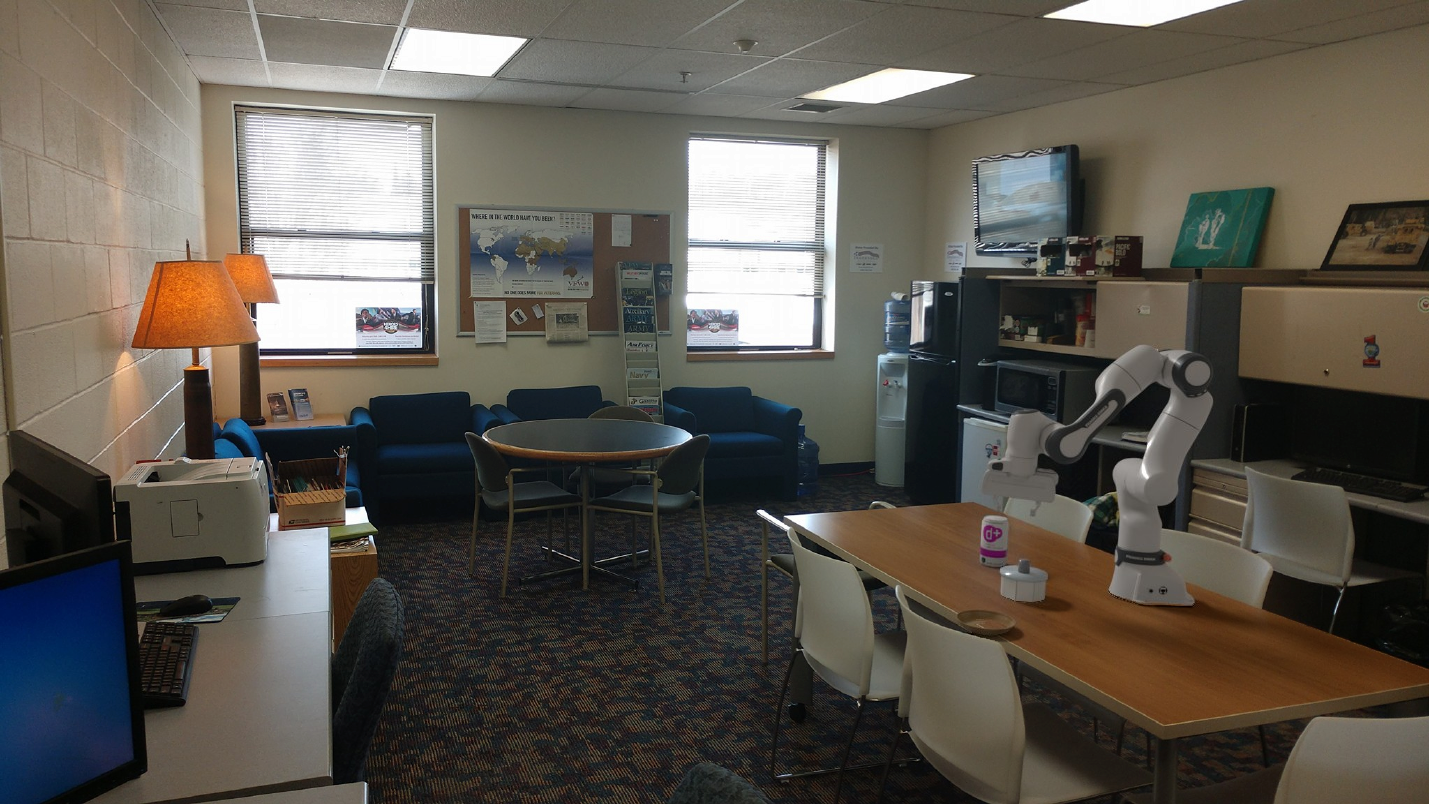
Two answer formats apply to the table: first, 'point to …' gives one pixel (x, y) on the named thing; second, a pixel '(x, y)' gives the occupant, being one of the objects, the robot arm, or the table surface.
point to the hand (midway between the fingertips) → (1015, 513)
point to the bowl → (1022, 590)
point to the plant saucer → (970, 616)
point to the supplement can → (994, 541)
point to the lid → (1023, 572)
